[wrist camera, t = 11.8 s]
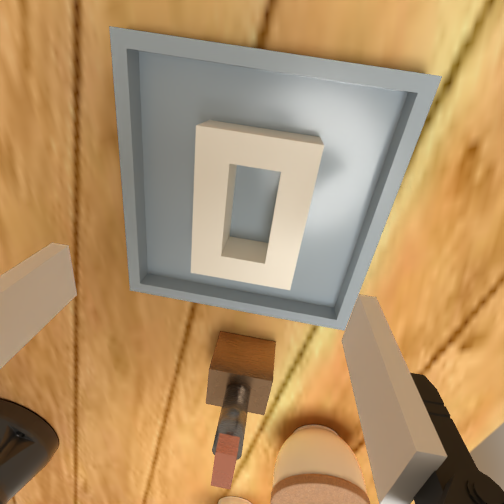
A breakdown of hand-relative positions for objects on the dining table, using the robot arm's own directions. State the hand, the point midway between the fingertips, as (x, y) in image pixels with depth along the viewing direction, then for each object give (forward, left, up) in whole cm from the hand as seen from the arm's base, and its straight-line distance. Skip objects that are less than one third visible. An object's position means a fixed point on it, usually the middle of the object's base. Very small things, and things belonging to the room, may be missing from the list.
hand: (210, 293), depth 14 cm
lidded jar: (+13, -31, -13) cm, 36 cm away
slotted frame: (+1, 0, -12) cm, 12 cm away
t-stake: (+2, -18, -13) cm, 22 cm away
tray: (0, 0, -13) cm, 13 cm away
